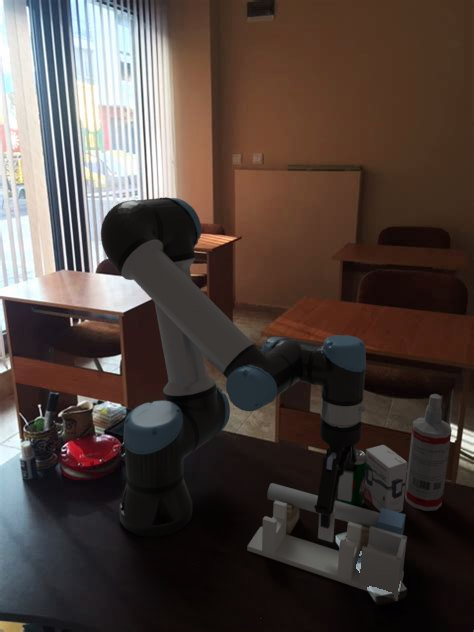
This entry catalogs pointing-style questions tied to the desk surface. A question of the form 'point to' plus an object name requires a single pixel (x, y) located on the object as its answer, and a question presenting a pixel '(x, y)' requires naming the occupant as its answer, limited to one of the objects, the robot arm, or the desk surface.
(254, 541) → the clip rail
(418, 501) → the white nozzle bottle
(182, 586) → the desk surface
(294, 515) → the clamp blocks
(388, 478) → the ink box
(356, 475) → the soda can
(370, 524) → the grey rod with block
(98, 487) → the desk surface
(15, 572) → the desk surface
